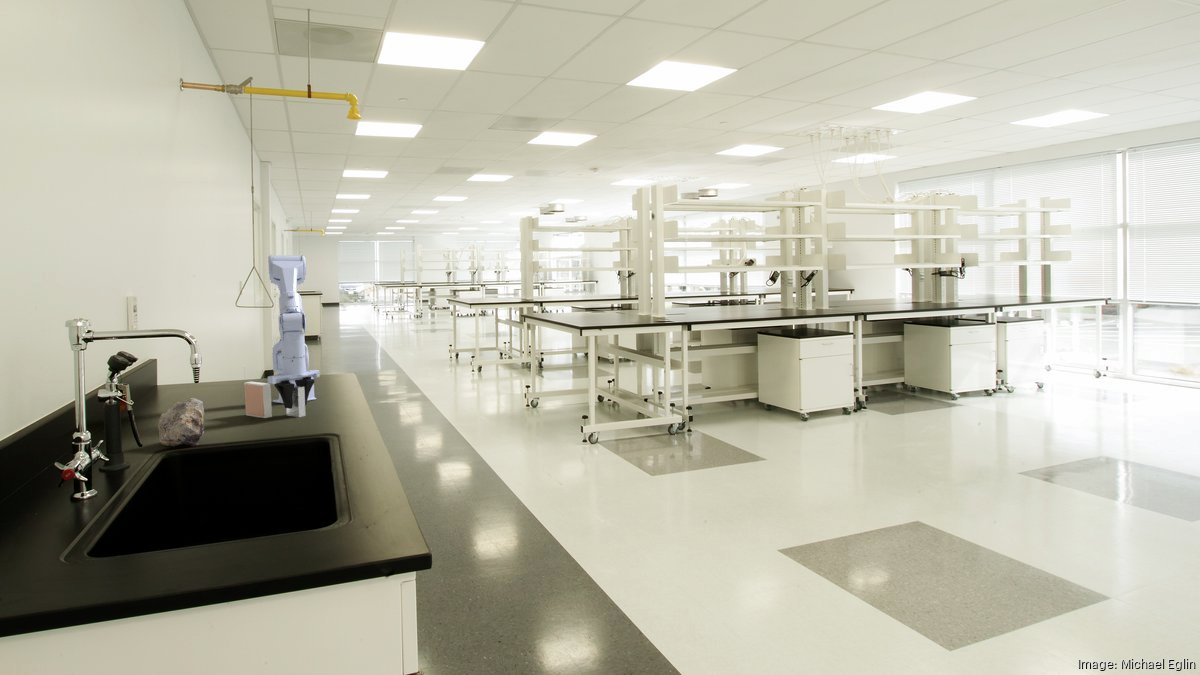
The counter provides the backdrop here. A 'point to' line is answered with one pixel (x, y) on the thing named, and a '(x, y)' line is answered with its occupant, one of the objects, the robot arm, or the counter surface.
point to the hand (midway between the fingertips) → (295, 406)
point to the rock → (182, 423)
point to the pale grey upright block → (297, 402)
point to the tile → (258, 399)
